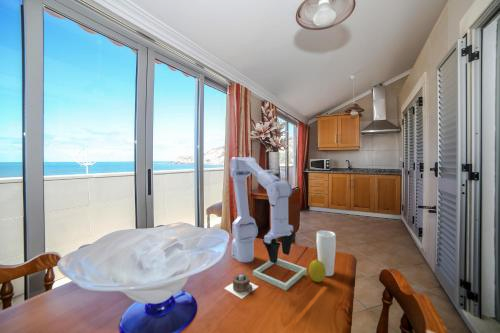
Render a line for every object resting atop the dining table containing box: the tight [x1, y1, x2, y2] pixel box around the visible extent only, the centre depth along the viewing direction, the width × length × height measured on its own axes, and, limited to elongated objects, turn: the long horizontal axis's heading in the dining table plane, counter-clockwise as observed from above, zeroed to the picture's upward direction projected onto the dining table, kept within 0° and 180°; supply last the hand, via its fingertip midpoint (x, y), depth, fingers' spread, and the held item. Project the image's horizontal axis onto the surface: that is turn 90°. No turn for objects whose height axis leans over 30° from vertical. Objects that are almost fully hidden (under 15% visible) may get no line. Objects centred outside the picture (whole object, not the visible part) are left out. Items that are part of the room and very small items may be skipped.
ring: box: [232, 273, 253, 294], centre depth 68 cm, size 7×5×3 cm
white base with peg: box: [223, 275, 259, 299], centre depth 68 cm, size 8×8×5 cm
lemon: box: [308, 259, 326, 283], centre depth 72 cm, size 6×6×8 cm
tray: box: [252, 257, 307, 291], centre depth 76 cm, size 14×14×2 cm
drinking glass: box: [315, 230, 337, 277], centre depth 78 cm, size 7×7×15 cm
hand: (279, 257), depth 70 cm, fingers open, 7 cm apart
